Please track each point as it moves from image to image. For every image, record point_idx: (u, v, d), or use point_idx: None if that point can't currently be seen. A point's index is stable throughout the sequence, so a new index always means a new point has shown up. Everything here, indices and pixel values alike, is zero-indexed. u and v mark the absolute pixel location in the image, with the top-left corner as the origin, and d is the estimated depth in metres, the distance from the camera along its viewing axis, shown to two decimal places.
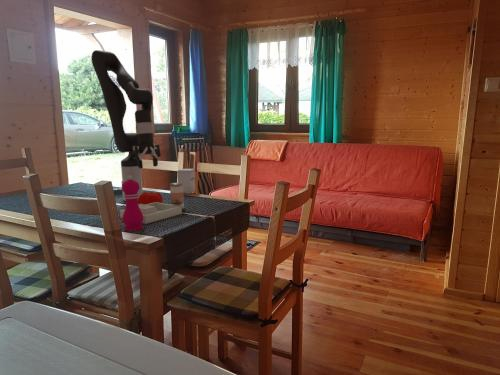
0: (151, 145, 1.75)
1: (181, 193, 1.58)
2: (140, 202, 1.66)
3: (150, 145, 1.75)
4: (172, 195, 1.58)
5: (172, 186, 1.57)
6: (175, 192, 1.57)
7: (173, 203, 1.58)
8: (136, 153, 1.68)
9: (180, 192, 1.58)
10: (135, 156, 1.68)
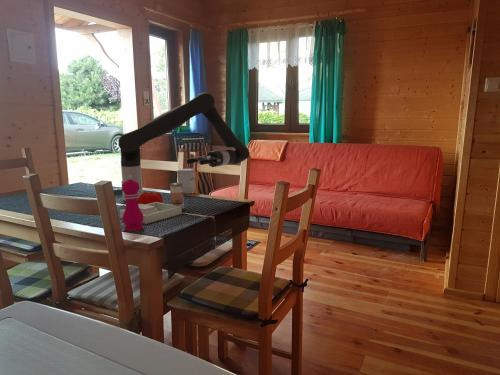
0: None
1: (181, 193, 1.58)
2: (140, 202, 1.66)
3: None
4: (172, 195, 1.58)
5: (172, 186, 1.57)
6: (175, 192, 1.57)
7: (173, 203, 1.58)
8: None
9: (180, 192, 1.58)
10: (214, 163, 1.66)
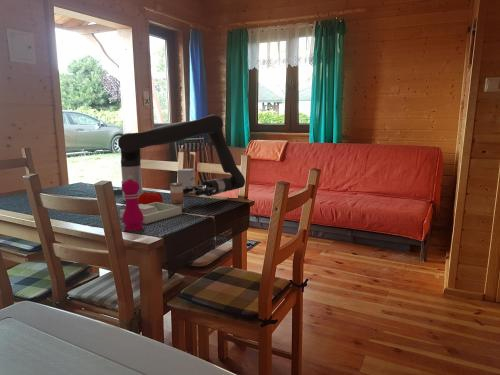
0: None
1: (181, 193, 1.58)
2: (140, 202, 1.66)
3: None
4: (172, 195, 1.58)
5: (172, 186, 1.57)
6: (175, 192, 1.57)
7: (173, 203, 1.58)
8: (210, 194, 1.67)
9: (180, 192, 1.58)
10: (209, 194, 1.66)
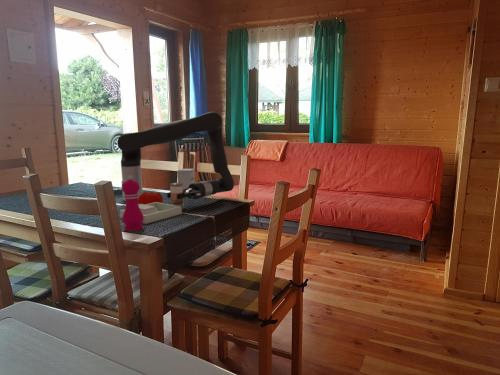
0: None
1: None
2: (140, 202, 1.66)
3: None
4: (172, 195, 1.58)
5: (172, 186, 1.57)
6: (175, 192, 1.57)
7: (173, 203, 1.58)
8: (193, 197, 1.60)
9: (180, 192, 1.58)
10: (191, 197, 1.59)
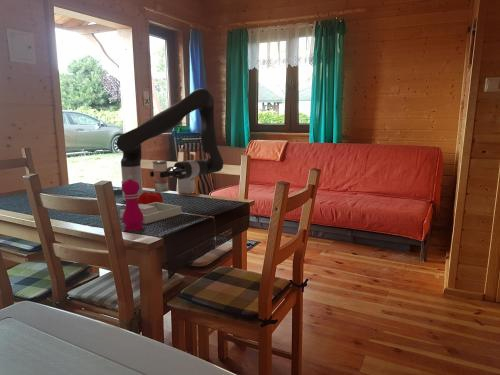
0: None
1: None
2: (140, 202, 1.66)
3: None
4: (155, 173, 1.47)
5: (155, 164, 1.46)
6: (158, 170, 1.46)
7: (156, 182, 1.47)
8: (178, 176, 1.49)
9: (163, 170, 1.47)
10: (176, 176, 1.48)
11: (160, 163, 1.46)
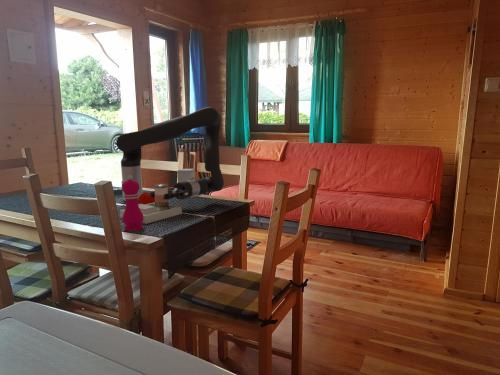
0: None
1: None
2: (140, 202, 1.66)
3: None
4: (156, 197, 1.48)
5: (156, 188, 1.48)
6: (159, 194, 1.48)
7: (157, 206, 1.49)
8: None
9: None
10: (180, 197, 1.49)
11: (161, 187, 1.47)
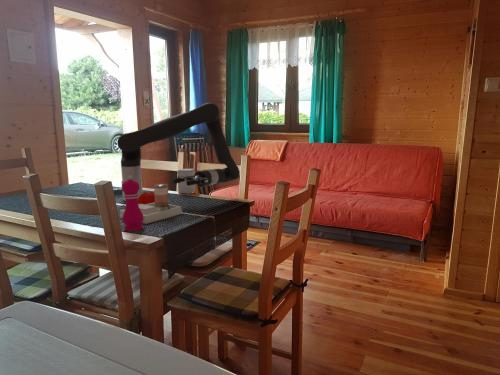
0: None
1: (166, 195, 1.49)
2: (140, 202, 1.66)
3: None
4: (156, 197, 1.48)
5: (156, 188, 1.47)
6: (159, 194, 1.48)
7: (157, 206, 1.49)
8: None
9: (164, 194, 1.49)
10: (201, 184, 1.60)
11: (161, 187, 1.47)
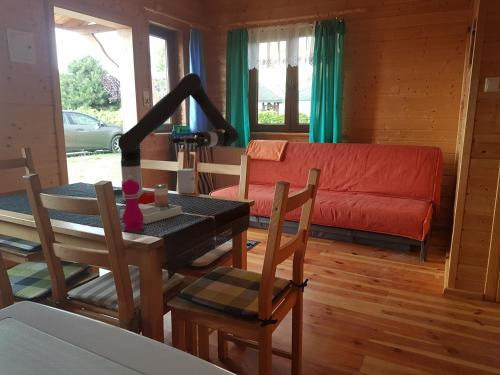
0: None
1: (166, 195, 1.49)
2: (140, 202, 1.66)
3: None
4: (156, 197, 1.48)
5: (156, 188, 1.47)
6: (160, 194, 1.48)
7: (158, 206, 1.49)
8: (202, 143, 1.61)
9: (164, 194, 1.49)
10: (200, 142, 1.60)
11: (161, 187, 1.47)
